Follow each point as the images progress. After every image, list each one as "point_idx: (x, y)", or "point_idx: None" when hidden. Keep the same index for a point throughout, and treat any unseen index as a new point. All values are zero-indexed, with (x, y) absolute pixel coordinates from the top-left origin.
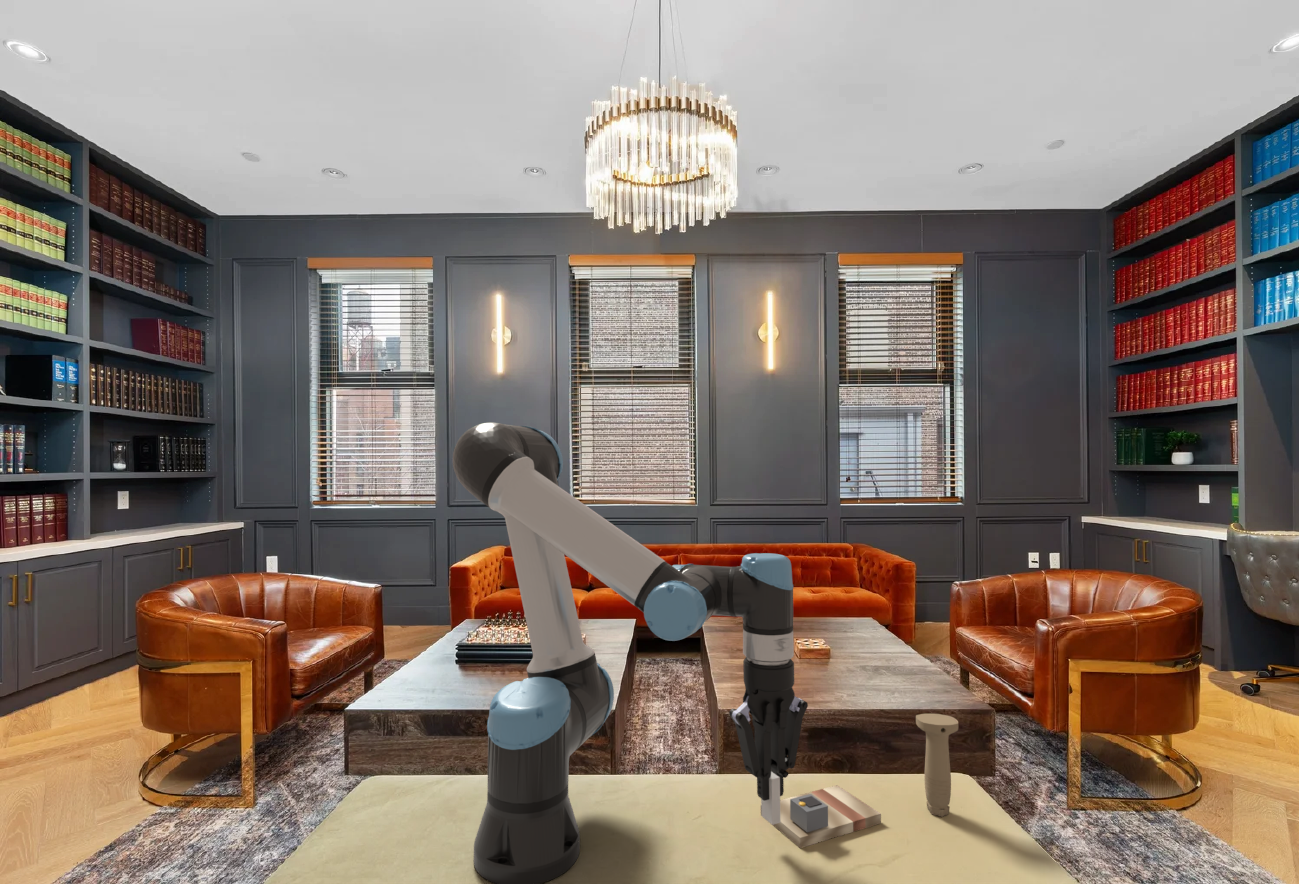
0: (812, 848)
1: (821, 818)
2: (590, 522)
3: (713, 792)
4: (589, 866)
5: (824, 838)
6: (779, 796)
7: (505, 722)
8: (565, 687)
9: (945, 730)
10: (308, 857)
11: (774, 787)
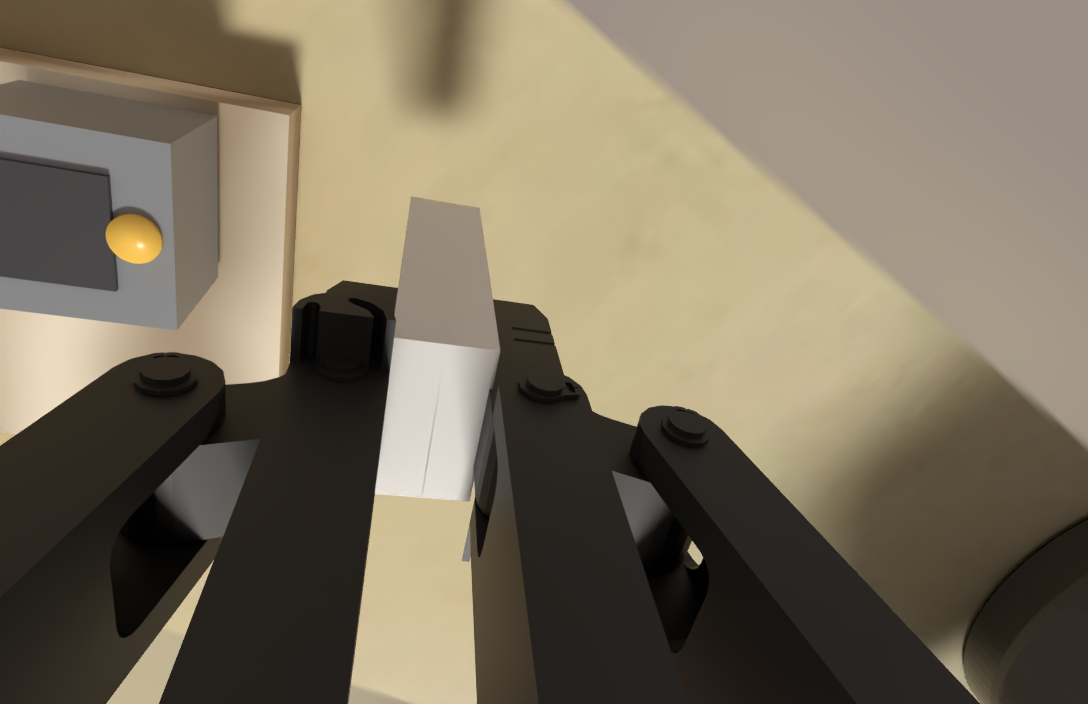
0: (232, 58)
1: (51, 101)
2: None
3: (364, 634)
4: (1068, 485)
5: (96, 68)
6: (407, 262)
7: None
8: None
9: None
10: None
11: (461, 307)
